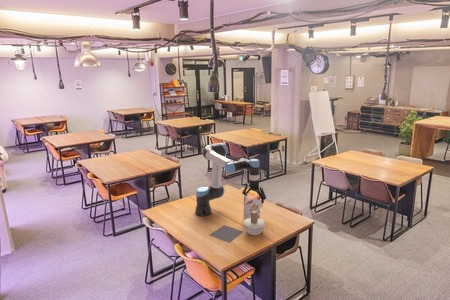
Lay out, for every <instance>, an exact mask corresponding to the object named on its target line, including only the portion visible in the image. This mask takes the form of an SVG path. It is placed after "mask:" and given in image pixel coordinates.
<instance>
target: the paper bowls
mask: <svg viewBox="0 0 450 300" xmlns="http://www.w3.org/2000/svg"><path fill="white" fill-rule="evenodd" d="M264 230H265V226H264V227H262V228H259V229H251V228H247V227H245V226H244V232H246V233H248V235H250V236H258V235H261V233H263V232H264Z"/></svg>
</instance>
